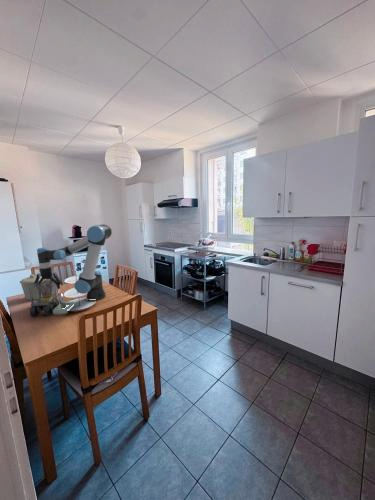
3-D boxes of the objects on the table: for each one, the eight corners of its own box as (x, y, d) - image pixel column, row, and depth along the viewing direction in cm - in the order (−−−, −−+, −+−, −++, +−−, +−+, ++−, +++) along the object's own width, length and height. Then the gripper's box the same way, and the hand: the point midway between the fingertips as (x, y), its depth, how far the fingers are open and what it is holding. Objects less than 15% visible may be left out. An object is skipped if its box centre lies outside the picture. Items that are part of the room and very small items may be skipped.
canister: (28, 303, 172) (24, 278, 168) (19, 299, 182) (14, 275, 178) (52, 295, 187) (48, 273, 184) (42, 292, 197) (38, 270, 193)
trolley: (60, 307, 164) (56, 280, 160) (48, 317, 148) (43, 287, 144) (44, 308, 163) (39, 281, 159) (30, 318, 148) (25, 288, 144)
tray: (74, 306, 165) (73, 301, 165) (66, 313, 153) (65, 309, 152) (62, 306, 165) (61, 302, 164) (53, 314, 152) (52, 310, 151)
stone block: (53, 306, 165) (49, 282, 161) (43, 308, 163) (39, 283, 159) (58, 300, 178) (55, 277, 174) (49, 301, 176) (45, 278, 172)
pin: (66, 307, 160) (62, 292, 157) (65, 309, 157) (61, 294, 154) (62, 308, 160) (58, 293, 157) (61, 310, 157) (56, 295, 154)
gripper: (64, 265, 169) (67, 290, 173) (31, 266, 168) (36, 292, 171) (59, 267, 162) (63, 294, 166) (25, 269, 160) (30, 295, 164)
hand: (49, 293), depth 169 cm, fingers open, 13 cm apart
